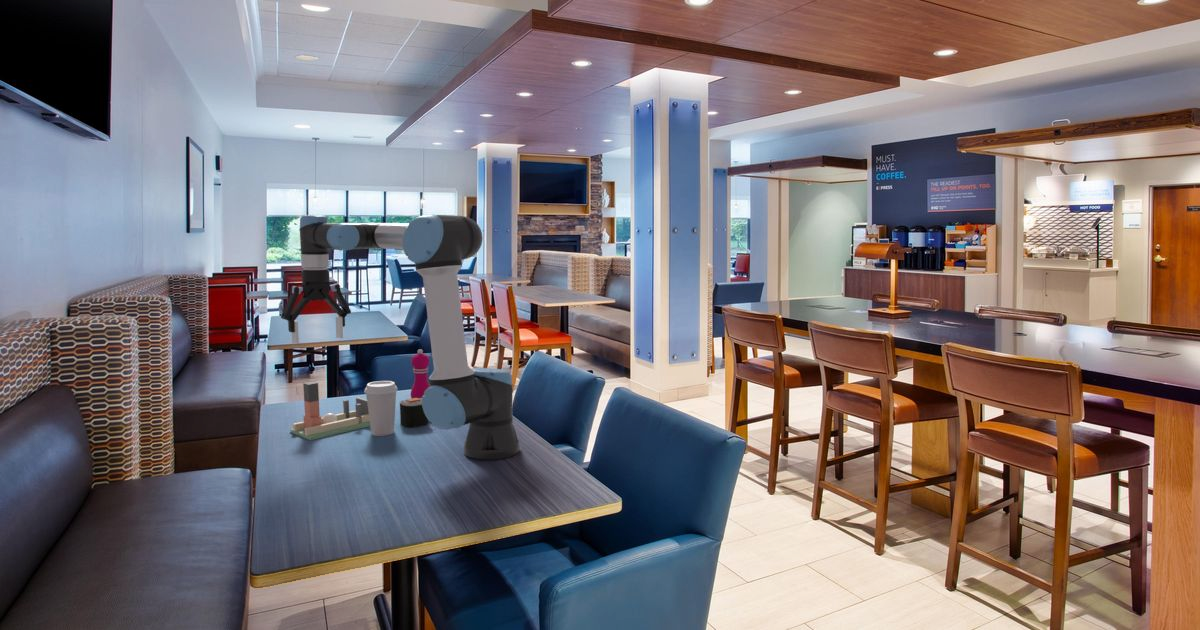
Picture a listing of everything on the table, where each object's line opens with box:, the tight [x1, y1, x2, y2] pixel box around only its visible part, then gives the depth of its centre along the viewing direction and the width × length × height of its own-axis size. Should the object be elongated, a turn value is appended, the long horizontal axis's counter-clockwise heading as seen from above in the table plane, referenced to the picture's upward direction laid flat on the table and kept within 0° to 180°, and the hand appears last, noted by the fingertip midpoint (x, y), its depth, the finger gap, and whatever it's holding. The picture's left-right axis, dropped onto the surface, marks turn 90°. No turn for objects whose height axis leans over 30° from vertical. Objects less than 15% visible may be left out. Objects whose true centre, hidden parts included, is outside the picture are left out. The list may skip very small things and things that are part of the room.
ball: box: [323, 412, 337, 424], centre depth 217 cm, size 4×4×4 cm
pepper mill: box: [410, 348, 431, 399], centre depth 243 cm, size 7×7×20 cm
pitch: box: [289, 397, 370, 441], centre depth 218 cm, size 12×22×7 cm, turn 139°
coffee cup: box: [363, 380, 399, 437], centre depth 213 cm, size 10×10×15 cm
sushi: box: [399, 397, 429, 429], centre depth 223 cm, size 8×8×8 cm
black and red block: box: [302, 381, 322, 429], centre depth 212 cm, size 5×3×14 cm, turn 49°
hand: (318, 340), depth 211 cm, fingers open, 13 cm apart
